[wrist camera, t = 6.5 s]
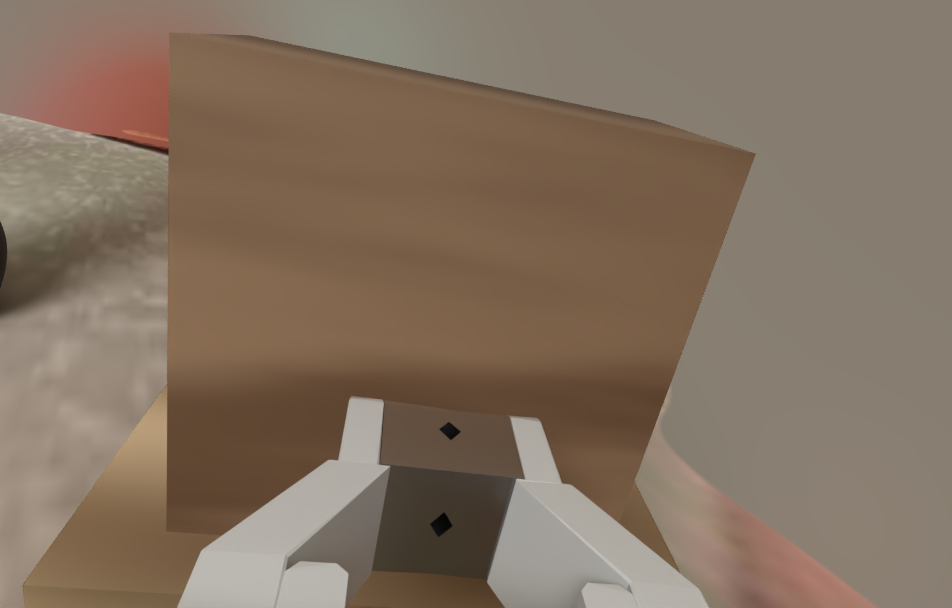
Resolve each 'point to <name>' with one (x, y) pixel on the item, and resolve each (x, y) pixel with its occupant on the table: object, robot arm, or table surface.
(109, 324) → the table surface
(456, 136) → the upright wooden block
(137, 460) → the tan piece
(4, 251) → the cola bottle
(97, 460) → the table surface
